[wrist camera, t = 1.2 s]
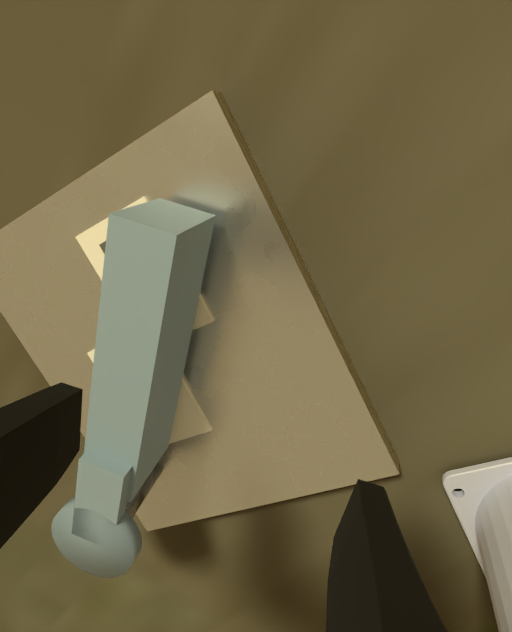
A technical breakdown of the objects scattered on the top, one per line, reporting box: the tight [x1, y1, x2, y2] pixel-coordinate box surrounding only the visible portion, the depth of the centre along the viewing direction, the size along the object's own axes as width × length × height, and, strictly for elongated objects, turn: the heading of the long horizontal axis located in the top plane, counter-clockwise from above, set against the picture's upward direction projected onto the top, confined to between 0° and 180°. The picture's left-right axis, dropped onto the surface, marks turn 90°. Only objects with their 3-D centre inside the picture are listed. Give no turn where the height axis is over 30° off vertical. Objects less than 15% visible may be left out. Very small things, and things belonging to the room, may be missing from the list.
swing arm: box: [52, 198, 216, 578], centre depth 19 cm, size 16×4×4 cm, turn 166°
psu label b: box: [87, 349, 213, 444], centre depth 23 cm, size 6×4×1 cm, turn 28°
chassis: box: [0, 90, 399, 531], centre depth 20 cm, size 18×15×5 cm
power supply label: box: [76, 196, 214, 330], centre depth 20 cm, size 6×4×1 cm, turn 28°
